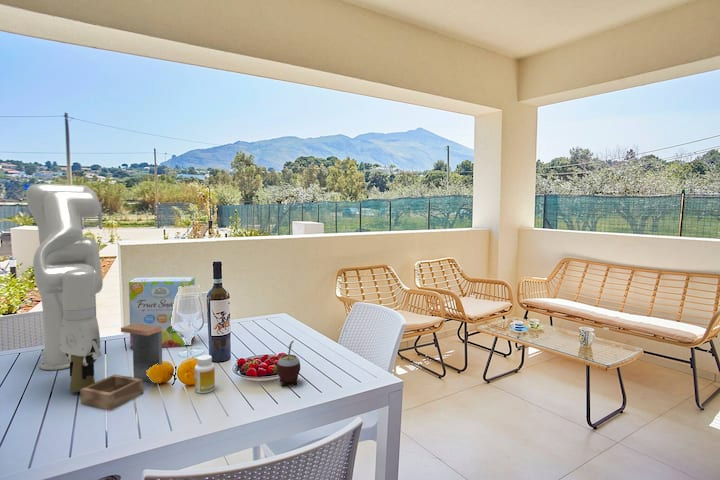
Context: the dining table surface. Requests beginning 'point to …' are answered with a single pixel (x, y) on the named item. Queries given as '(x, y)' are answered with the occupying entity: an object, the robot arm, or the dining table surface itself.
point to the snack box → (156, 305)
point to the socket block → (103, 399)
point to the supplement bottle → (204, 374)
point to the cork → (79, 375)
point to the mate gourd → (288, 368)
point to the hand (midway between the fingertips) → (82, 375)
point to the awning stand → (145, 348)
